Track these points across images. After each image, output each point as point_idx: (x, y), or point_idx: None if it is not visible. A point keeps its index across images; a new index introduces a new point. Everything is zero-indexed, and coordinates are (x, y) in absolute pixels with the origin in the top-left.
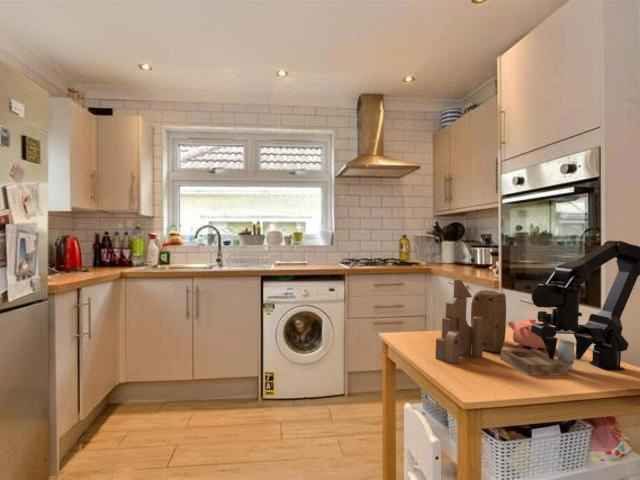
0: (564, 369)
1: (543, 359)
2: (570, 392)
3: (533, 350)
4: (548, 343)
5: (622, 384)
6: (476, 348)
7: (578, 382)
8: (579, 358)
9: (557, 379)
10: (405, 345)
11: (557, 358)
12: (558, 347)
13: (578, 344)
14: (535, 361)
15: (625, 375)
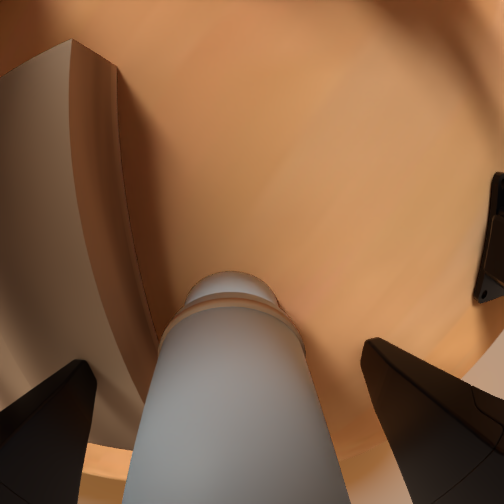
0: None
1: (35, 373)
2: (122, 476)
3: (20, 91)
4: (6, 477)
5: (364, 440)
6: None
7: None
8: (367, 378)
9: None
10: None
11: (165, 333)
12: (131, 461)
13: (452, 458)
14: (4, 390)
15: (476, 345)
